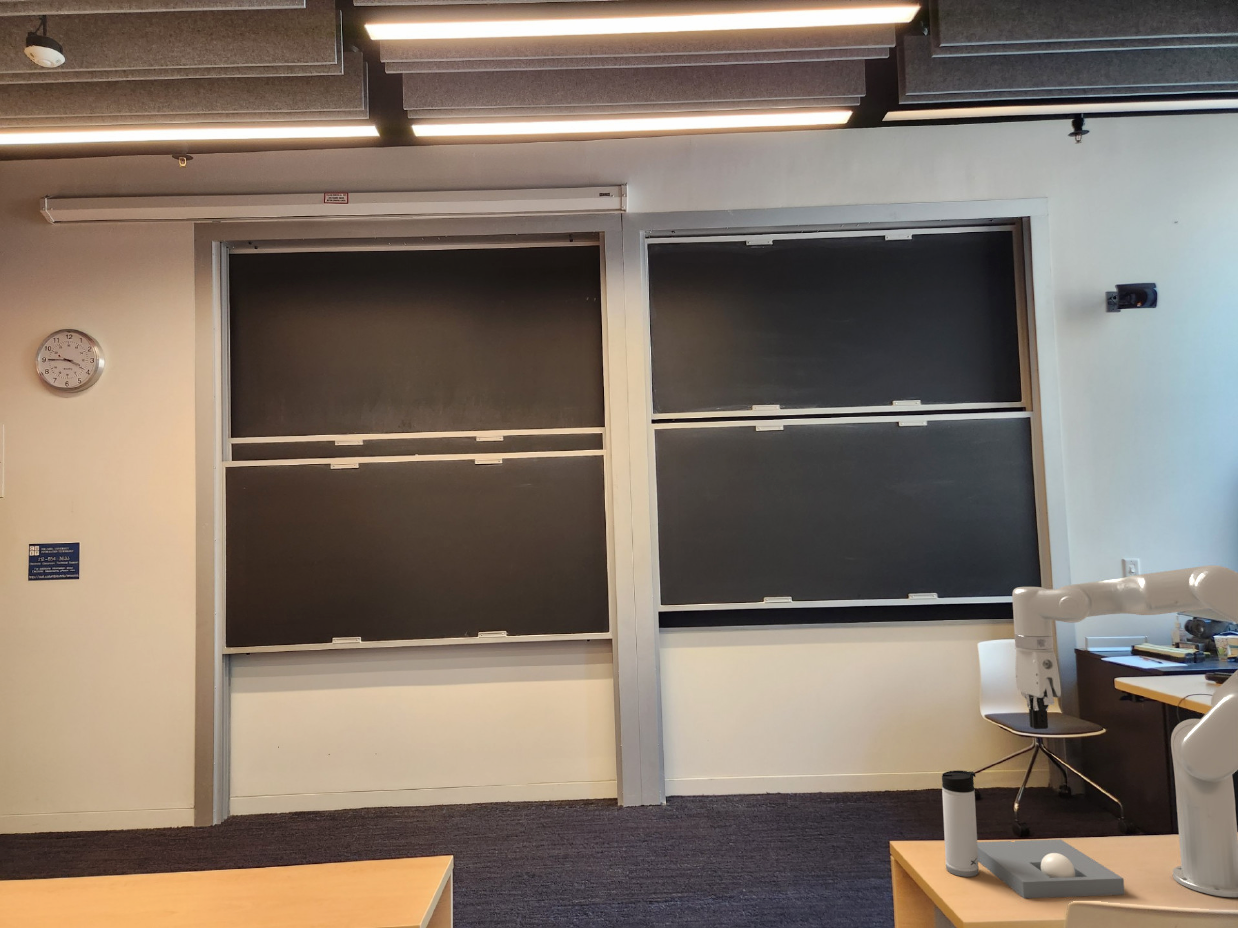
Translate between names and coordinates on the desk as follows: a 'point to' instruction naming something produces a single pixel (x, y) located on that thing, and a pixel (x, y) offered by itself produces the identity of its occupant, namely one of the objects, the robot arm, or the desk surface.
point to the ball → (1057, 866)
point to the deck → (1025, 877)
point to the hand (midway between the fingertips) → (1038, 727)
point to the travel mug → (960, 823)
